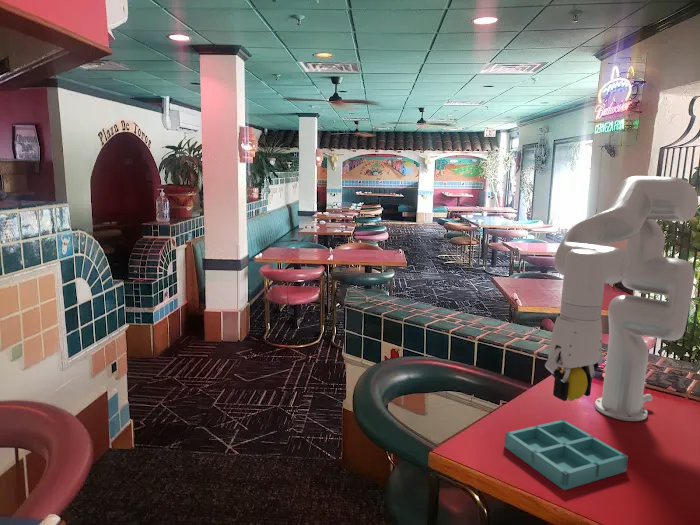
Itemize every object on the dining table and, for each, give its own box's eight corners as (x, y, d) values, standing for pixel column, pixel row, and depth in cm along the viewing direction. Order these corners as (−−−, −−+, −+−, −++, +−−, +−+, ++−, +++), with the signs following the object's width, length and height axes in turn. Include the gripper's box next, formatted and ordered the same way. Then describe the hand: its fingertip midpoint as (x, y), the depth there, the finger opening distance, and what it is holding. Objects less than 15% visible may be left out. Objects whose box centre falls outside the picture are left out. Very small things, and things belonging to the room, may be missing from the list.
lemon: (588, 408, 105) (592, 370, 104) (558, 405, 106) (562, 367, 105) (581, 396, 110) (585, 360, 109) (554, 393, 112) (557, 358, 110)
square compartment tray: (562, 432, 128) (563, 419, 127) (626, 471, 112) (628, 456, 111) (504, 446, 121) (505, 432, 120) (564, 490, 105) (565, 474, 104)
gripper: (596, 303, 112) (587, 382, 115) (533, 310, 105) (526, 394, 108) (627, 312, 105) (616, 396, 108) (562, 320, 98) (553, 410, 101)
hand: (571, 395), depth 108 cm, fingers closed on lemon, 5 cm apart
